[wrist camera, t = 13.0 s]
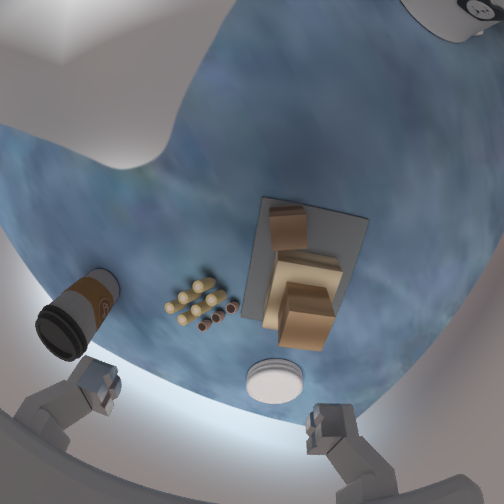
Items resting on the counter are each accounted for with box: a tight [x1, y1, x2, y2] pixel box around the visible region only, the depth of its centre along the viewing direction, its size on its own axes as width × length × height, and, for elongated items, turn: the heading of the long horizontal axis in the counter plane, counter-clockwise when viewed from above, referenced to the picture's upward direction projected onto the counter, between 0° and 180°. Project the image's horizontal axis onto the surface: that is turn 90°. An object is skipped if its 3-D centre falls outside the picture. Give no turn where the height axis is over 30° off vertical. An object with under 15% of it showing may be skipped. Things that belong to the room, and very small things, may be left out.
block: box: [269, 206, 307, 251], centre depth 32 cm, size 4×4×4 cm
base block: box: [262, 250, 343, 330], centre depth 35 cm, size 10×8×4 cm
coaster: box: [246, 359, 303, 404], centre depth 44 cm, size 10×10×4 cm
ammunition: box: [165, 277, 239, 332], centre depth 38 cm, size 5×7×8 cm
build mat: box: [241, 196, 369, 321], centre depth 36 cm, size 18×14×1 cm
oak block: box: [278, 281, 336, 351], centre depth 31 cm, size 5×5×6 cm
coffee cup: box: [35, 269, 119, 362], centre depth 33 cm, size 8×8×15 cm
